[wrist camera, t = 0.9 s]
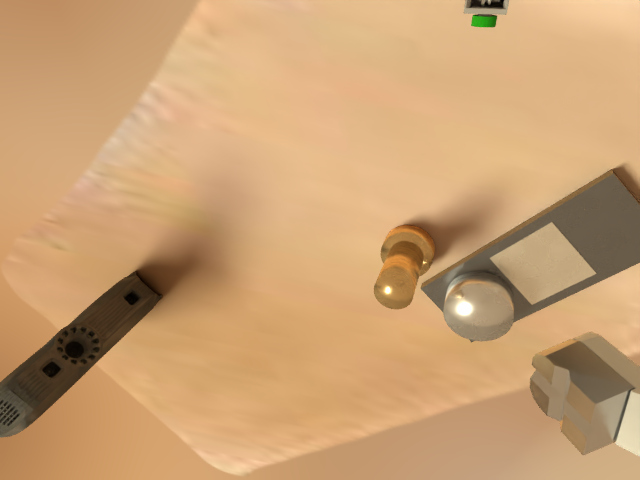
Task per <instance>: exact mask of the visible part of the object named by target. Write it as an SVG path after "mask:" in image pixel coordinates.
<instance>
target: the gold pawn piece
mask: <svg viewBox="0 0 640 480" xmlns="http://www.w3.org/2000/svg"><path fill="white" fill-rule="evenodd" d="M434 252H435V245H434V242H433V240H432V238H431V236H430V235H429V234H428V233H427V232H426V231H424V230H423V229H421V228H419V227H416V226H412V225H402V226H398V227H396V228H394V229H393V230H391V231H390V232H389V233H388V235H387V237H386V239H385V241H384V243H383V246H382V248H381V258H382V261H383V263H384V265H383V267H382V269H381V272H380V274H379V277H378V279H377V281H376V284H375V286H374V294H375V297H376V299H377V300H378V301H379V302H380V303H381V304H382V305H384V306H385V307H388V308H391V309H402V308H405V307H407V306H408V305H409V304H410V303H411V301H412V299H413V295H414V292H415V289H416V285H417V282H418V278H419V276H421V275H423V274H424V273H426V272H427V271H428V270H429V268H430V266H431V264H432V260H433V256H434Z"/></svg>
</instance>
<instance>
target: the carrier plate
mask: <svg viewBox="0 0 640 480" xmlns="http://www.w3.org/2000/svg"><path fill="white" fill-rule="evenodd" d="M638 263H640V203H639V202H638V201H637V200H636V199H635V197H634V196H633V195H632V194H631V192H630V191H629V190H628V189H627V188H626V186H625V185H624V184H623V183H622V182H621V180H620V179H619V178H618V177H617V176H616V174H615V173H614V172H613V171H612V169H611V170H610V171H608V172H607V173H605V174H603V175H602V176H600V177H598V178H597V179H595V180H593V181H592V182H590V183H588V184H587V185H585V186H583V187H582V188H580V189H578V190H577V191H575V192H573V193H572V194H570V195H568V196H567V197H565V198H563V199H562V200H560V201H558V202H557V203H555V204H553V205H552V206H550V207H548V208H547V209H545V210H543V211H542V212H540V213H539V214H537V215H535V216H534V217H532V218H530V219H529V220H527V221H525V222H524V223H522V224H520V225H519V226H517V227H515V228H514V229H512V230H510V231H509V232H507V233H505V234H504V235H502V236H500V237H499V238H497V239H495V240H494V241H492V242H490V243H489V244H487V245H485V246H484V247H482V248H480V249H479V250H477V251H475V252H474V253H472V254H471V255H469V256H467V257H466V258H464V259H462V260H461V261H459V262H457V263H456V264H454V265H452V266H451V267H449V268H447V269H446V270H444V271H442V272H441V273H439V274H437V275H436V276H434V277H432V278H431V279H429V280H427V281H426V282H424V283H422V286H421V289H422V290H423V291H424V293H425V294H426V295H427V296H428V297H429V298H430V299H431V300H432V301H433V302H434V303H435V304H436V305H437V306H438V307H439V308H440V309H441V310H442V312H443V314H444V318H445V321H446V323H447V324H448V326H449V327H450V328H451V329H452V330H453V331H454V332H455V333H457V334H458V335H460V336H462V337H464V338H467V339H469V340H470V341H471V342H473V341H490V340H494V339H497V338H499V337H501V336H503V335H504V334H506V333H507V332H508V331H509V329H510V328H511V326H512V324H513V322H515V321H517V320H520V319H522V318H524V317H526V316H528V315H530V314H532V313H534V312H536V311H539V310H541V309H543V308H545V307H547V306H549V305H551V304H553V303H555V302H558V301H560V300H562V299H564V298H566V297H568V296H570V295H572V294H574V293H577V292H579V291H581V290H583V289H585V288H587V287H589V286H591V285H593V284H596V283H598V282H600V281H602V280H604V279H606V278H608V277H610V276H612V275H615V274H617V273H619V272H621V271H623V270H625V269H627V268H629V267H631V266H634V265H636V264H638Z"/></svg>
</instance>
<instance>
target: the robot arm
mask: <svg viewBox="0 0 640 480" xmlns="http://www.w3.org/2000/svg"><path fill="white" fill-rule="evenodd" d="M532 366H533V367H534V368H535V369H536V371H535V372H534V374H533V375H532V376H531V378H530V389H531V392H532V395H533V398H534V400H535V401H536V403H537V404H538V406H539V407H540V408H541V410H542V411H543V412H544V413H545V414H546V415H547V416H549V417H551V418H554V419H556V420H558V421H560V428H561V432H562V433H563V434H564V435H565V436H566V437H567V438H568V440H569V441H570V442H571V443H572V444H573V445H574V446H575V447H576V448H577V449H578V450H579V452H581V454H582V455H585V454H588V453H590V452H592V451H595V450H597V449H600V448H602V447H604V446H607V445H609V444H611V443H614V442H616V445H618V446H620V447H622V448H624V449H626V450H628V451H629V452H631V453H634V454H635V455H637V456H639V457H640V367H639V366H638V365H637V364H636V363H634V362H633V361H632V360H631V359H629V358H628V357H627V356H626V355H624V354H623V353H622V352H621V351H619V350H618V349H617V348H615V347H614V346H613V345H612V344H610V343H609V342H608V341H607V340H605V339H604V338H603V337H602V336H600V335H599V334H597V333H594V332H589V333H585V334H583V335H581V336H578V337H576V338H574V339H570V340H567V341H565V342H563V343H560V344H558V345H556V346H553V347H551V348H549V349H546V350H544V351H542V352H539V353H537V354H536V355H535V356H534V357H533V361H532Z"/></svg>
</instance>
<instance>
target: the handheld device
mask: <svg viewBox="0 0 640 480" xmlns="http://www.w3.org/2000/svg"><path fill="white" fill-rule="evenodd" d="M136 273H137V272H136V271H135V272H133V273H132V274H130V275H129V276H127V277H125V278H124V279H122V280H120V281H119V282H118V283H117V284H115V285H114V286H113V287H112V288H110V289H109V290H108V291H107V292H105V293H104V294H103V295H102V296H101V297H99V298H98V299H97V300H96V301H95V302H93V303H92V304H91V305H90V306H89V307H88V308H87V309H86V310H84V311H83V312H82V313H81V314H80V315H79V316H78V317H77V318H76V319H75V320H73V321H72V322H71V323H70V324H69V325H68V326H66V327H64V328H63V329H61V330H60V331H59V332H58V333H57V334H56V335H55V336H54V337H53V338H52V339H51V340H50V341H49V342H48V343H47V344H46V345H44V346H43V347H42V348H41V349H40V350H38V351H37V352H36V353H35V354H33V355H32V356H31V357H30V358H29V359H28V360H26V361H25V362H24V363H22V364H21V365H20V366H19V367H18V368H16V369H15V370H14V371H13V372H12V373H10V374H9V375H8V376H7V377H6V378H5V379H4V380H3V381H1V382H0V437H8V436H12V435H15V434H17V433H19V432H21V431H22V430H24V429H25V428H27V427H28V426H29V425H30V424H32V423H33V422H34V421H35V420H36V419H37V418H39V417H40V416H41V415H42V414H43V413H44V412H45V411H46V410H47V409H48V408H49V407H50V406H52V405H53V404H54V403H55V402H56V401H57V400H58V399H59V398H60V397H61V396H62V395H63V394H64V393H65V392H66V391H67V390H68V389H70V388H71V387H72V386H73V385H74V384H75V383H76V382H77V381H78V380H79V379H80V378H81V377H82V376H83V375H84V374H85V373H86V372H87V371H88V370H89V369H90V368H91V367H92V366H93V365H94V364H95V363H96V362H97V361H98V360H99V359H100V358H102V357H103V356H104V355H105V354H106V353H107V352H108V351H109V350H110V349H111V348H112V347H113V346H114V345H115V344H116V343H117V342H118V341H119V340H121V339H122V338H123V337H124V336H125V335H126V334H127V333H128V332H129V331H130V330H131V329H132V328H133V327H134V326H135V325H136V324H137V323H138V322H139V321H140V320H141V319H142V318H143V317H144V316H145V315H146V314H147V313H148V312H149V311H150V310H152V308H153V307H154V306H155V305H156V303H157V302H158V301H159V299H160V298H161V297H162V295H160V296H158V295H157V294H156V293H154V292H153V291H152V290H151V289H150V288H149V287H147V286H146V285H145V284H144V283H143V282H142V281H141V280H140V279H139V277H138V276H136Z"/></svg>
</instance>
